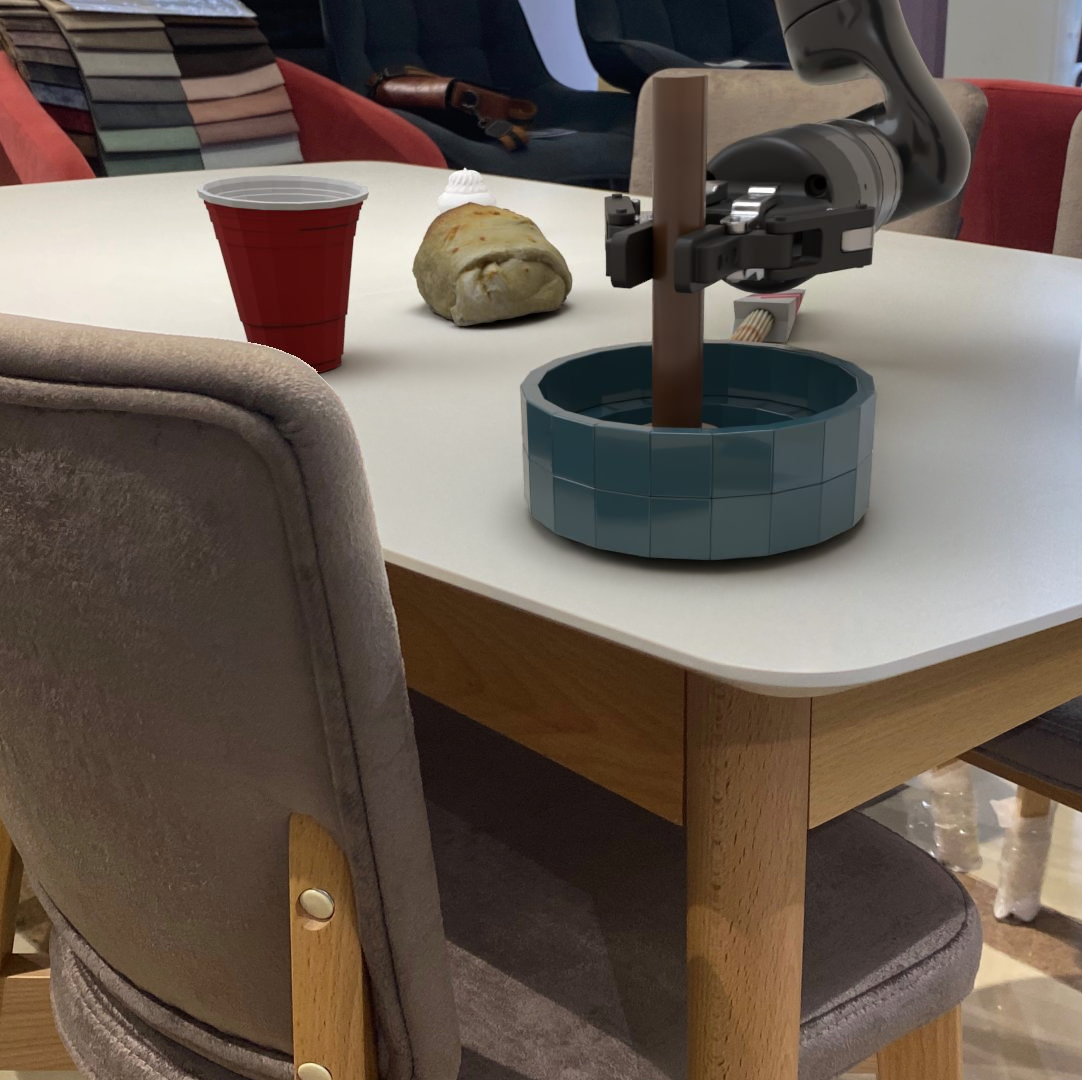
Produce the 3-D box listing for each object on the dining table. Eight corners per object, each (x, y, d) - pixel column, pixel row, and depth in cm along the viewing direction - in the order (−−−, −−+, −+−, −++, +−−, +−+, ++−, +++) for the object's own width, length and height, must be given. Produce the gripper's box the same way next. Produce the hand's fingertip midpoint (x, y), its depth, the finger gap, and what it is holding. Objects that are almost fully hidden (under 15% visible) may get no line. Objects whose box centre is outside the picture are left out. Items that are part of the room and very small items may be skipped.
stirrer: (741, 448, 59) (752, 71, 52) (704, 478, 55) (711, 78, 49) (651, 436, 61) (652, 72, 54) (610, 464, 57) (606, 79, 51)
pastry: (459, 287, 110) (454, 190, 107) (598, 294, 106) (596, 193, 103) (378, 323, 98) (370, 215, 95) (530, 333, 94) (526, 220, 91)
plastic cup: (325, 393, 80) (305, 195, 76) (185, 379, 85) (159, 190, 80) (412, 352, 89) (400, 173, 85) (283, 341, 94) (264, 169, 89)
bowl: (905, 476, 63) (914, 356, 61) (804, 599, 51) (811, 453, 48) (615, 438, 70) (613, 329, 68) (463, 537, 58) (455, 407, 55)
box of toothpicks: (814, 270, 96) (755, 346, 79) (813, 306, 97) (754, 389, 80) (762, 267, 97) (694, 342, 80) (761, 304, 98) (693, 384, 81)
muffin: (510, 237, 134) (507, 166, 131) (461, 244, 130) (457, 172, 128) (475, 230, 138) (471, 162, 136) (427, 238, 135) (422, 168, 132)
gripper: (664, 125, 68) (496, 163, 54) (935, 129, 61) (824, 174, 47) (663, 269, 70) (503, 342, 56) (922, 287, 64) (814, 374, 50)
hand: (651, 265), depth 52 cm, fingers closed on stirrer, 2 cm apart
